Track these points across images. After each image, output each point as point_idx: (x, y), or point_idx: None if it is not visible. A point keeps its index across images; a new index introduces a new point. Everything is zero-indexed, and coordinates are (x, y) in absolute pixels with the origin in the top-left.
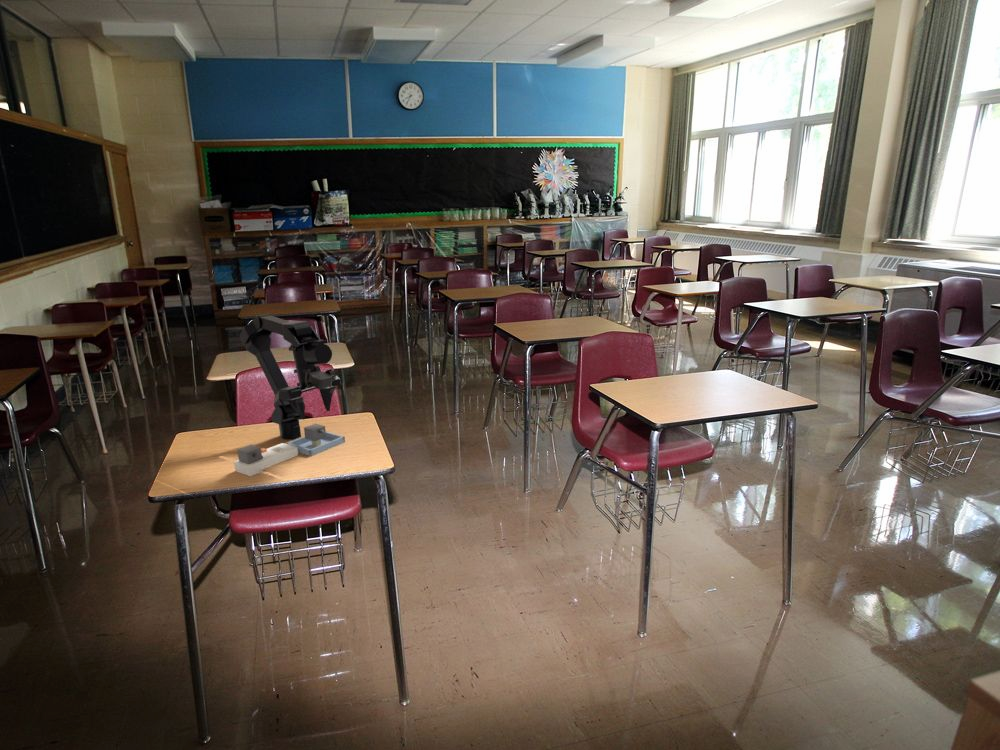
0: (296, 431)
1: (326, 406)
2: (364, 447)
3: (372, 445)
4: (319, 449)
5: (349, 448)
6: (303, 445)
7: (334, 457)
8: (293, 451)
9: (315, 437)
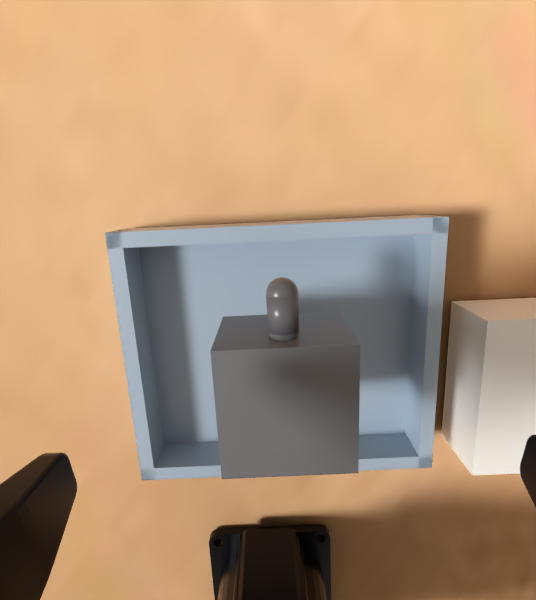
0: (273, 569)
1: (34, 547)
2: (69, 51)
3: (4, 28)
4: (358, 219)
5: (154, 139)
6: None
7: (324, 89)
8: (510, 314)
9: (330, 320)
